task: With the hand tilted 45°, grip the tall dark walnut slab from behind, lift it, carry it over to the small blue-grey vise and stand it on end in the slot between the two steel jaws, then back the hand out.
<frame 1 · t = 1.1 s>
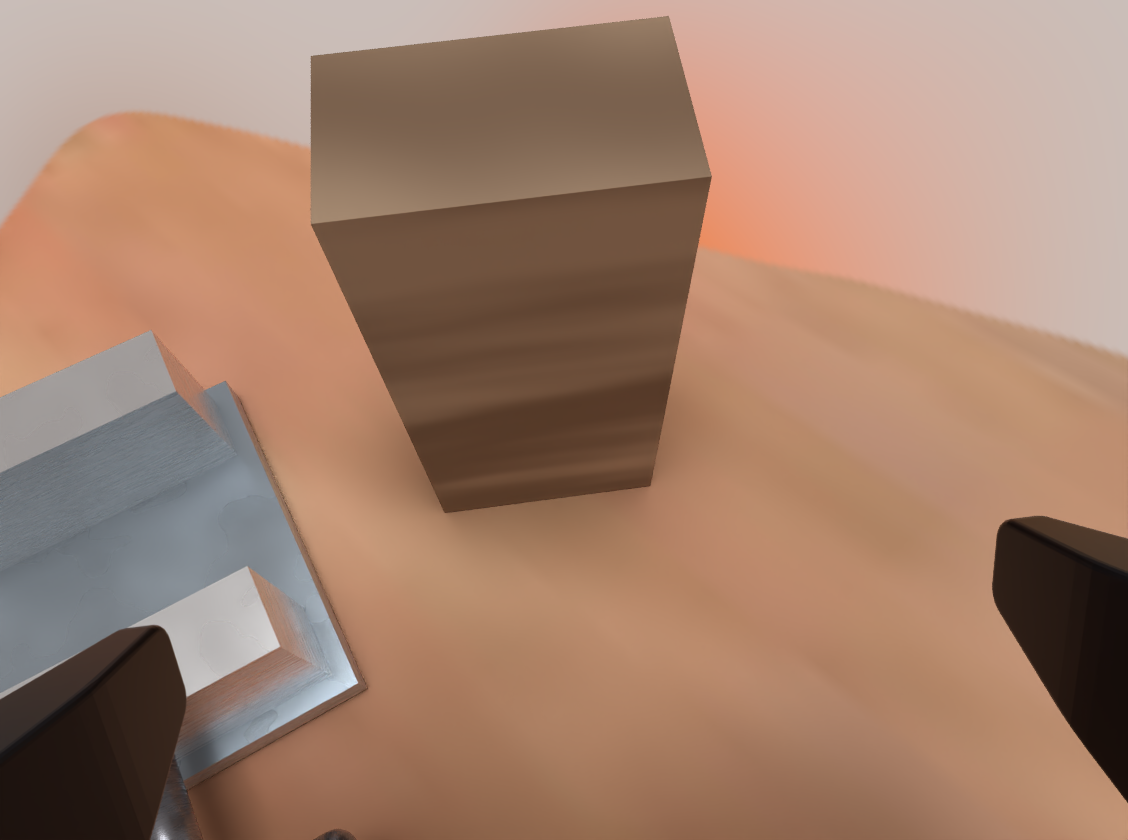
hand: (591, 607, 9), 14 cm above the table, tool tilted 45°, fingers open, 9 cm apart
walnut slab: (540, 444, 25), on the table
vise: (145, 608, 23), on the table
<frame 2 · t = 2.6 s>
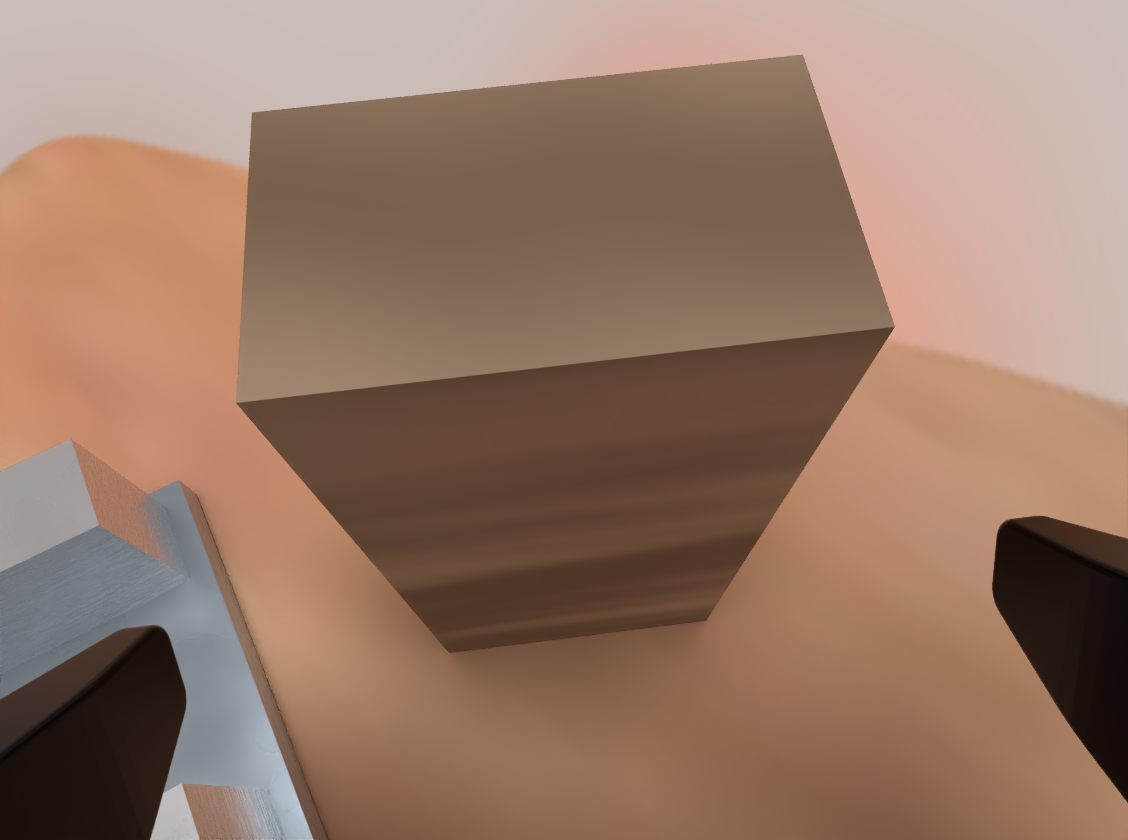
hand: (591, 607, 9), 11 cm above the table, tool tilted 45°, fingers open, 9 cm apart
walnut slab: (569, 563, 20), on the table
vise: (70, 777, 18), on the table
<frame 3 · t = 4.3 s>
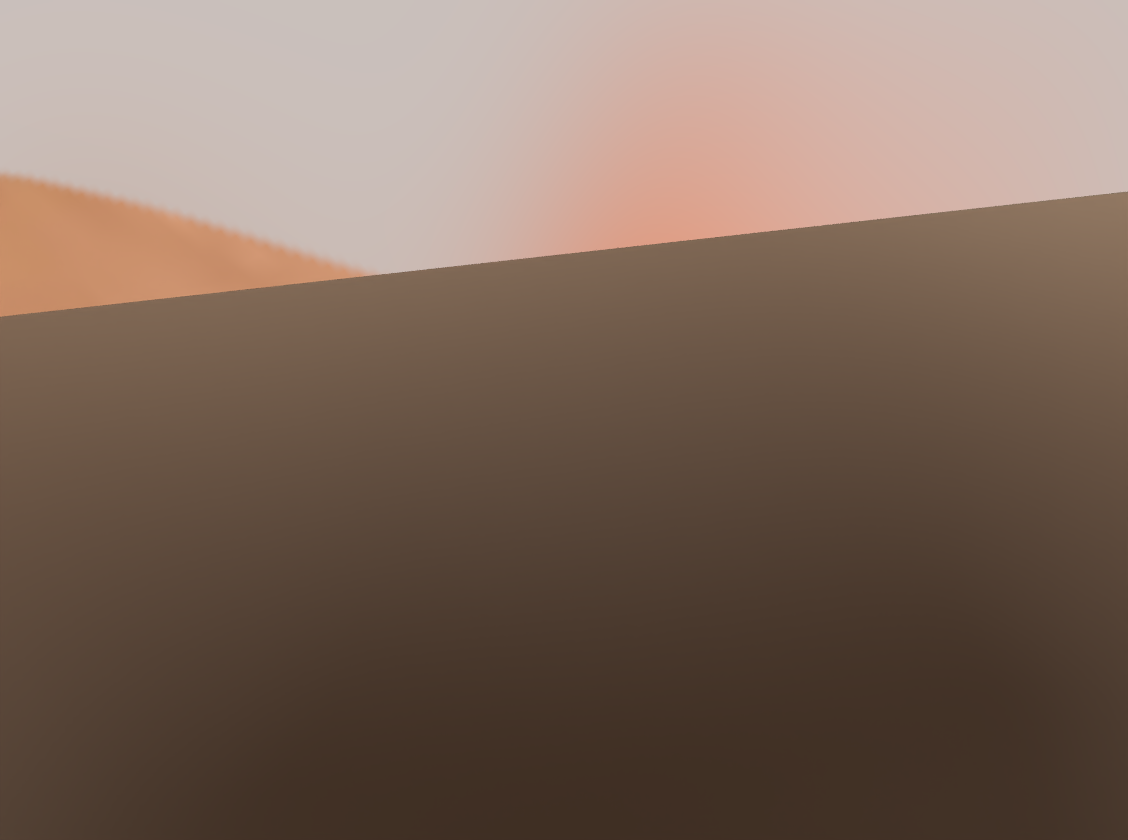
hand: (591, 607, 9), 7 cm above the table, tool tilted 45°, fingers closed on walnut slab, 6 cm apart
walnut slab: (598, 770, 15), on the table, touching gripper
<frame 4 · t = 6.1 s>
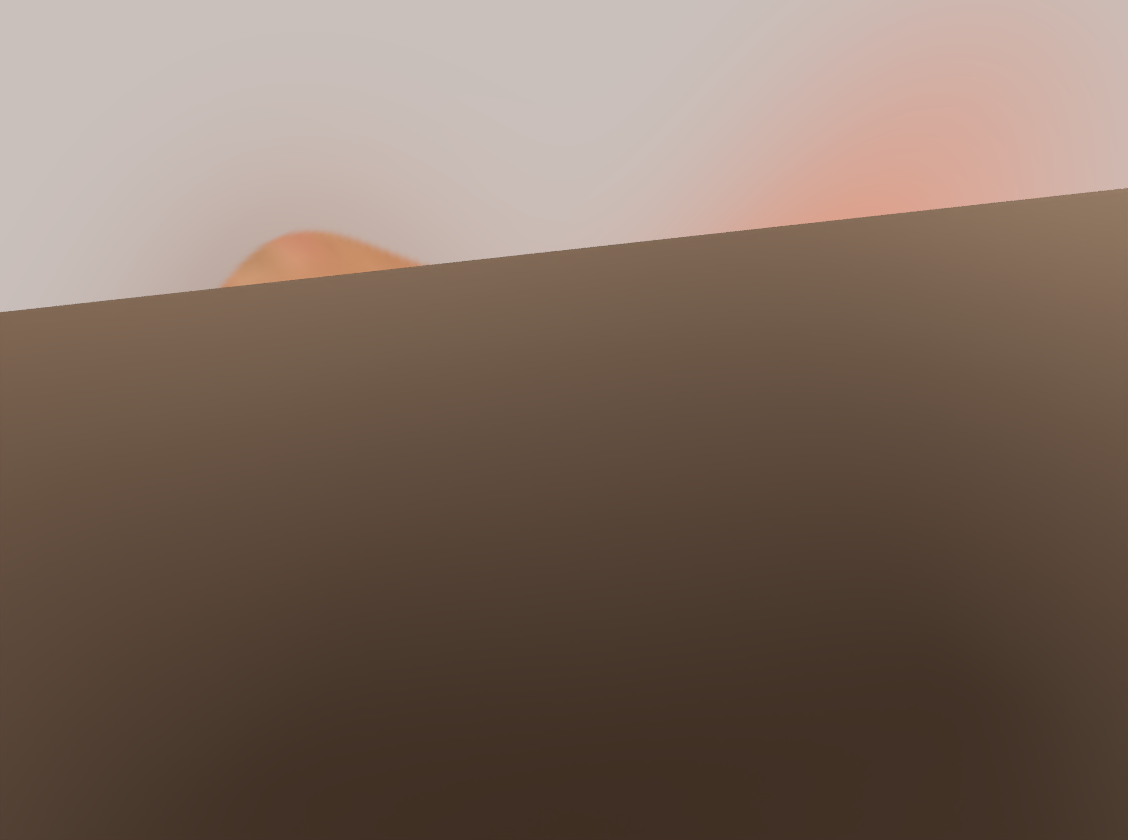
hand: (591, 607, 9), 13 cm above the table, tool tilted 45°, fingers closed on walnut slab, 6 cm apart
walnut slab: (599, 769, 15), point 6 cm above the table, touching gripper
when the fingers open (9 cm above the table, at t = 8.3 s): walnut slab stays where it is, resting on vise.
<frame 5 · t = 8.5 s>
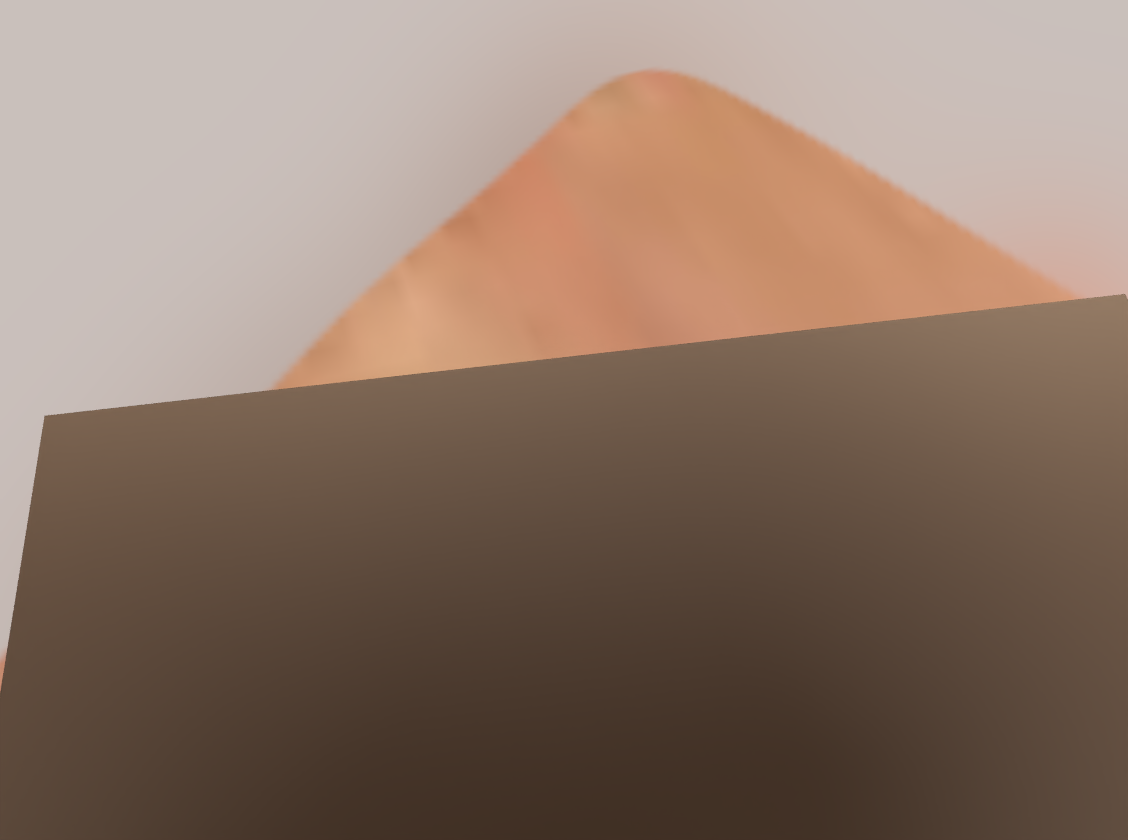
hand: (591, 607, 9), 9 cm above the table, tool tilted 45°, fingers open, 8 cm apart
walnut slab: (598, 771, 16), point 1 cm above the table, touching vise
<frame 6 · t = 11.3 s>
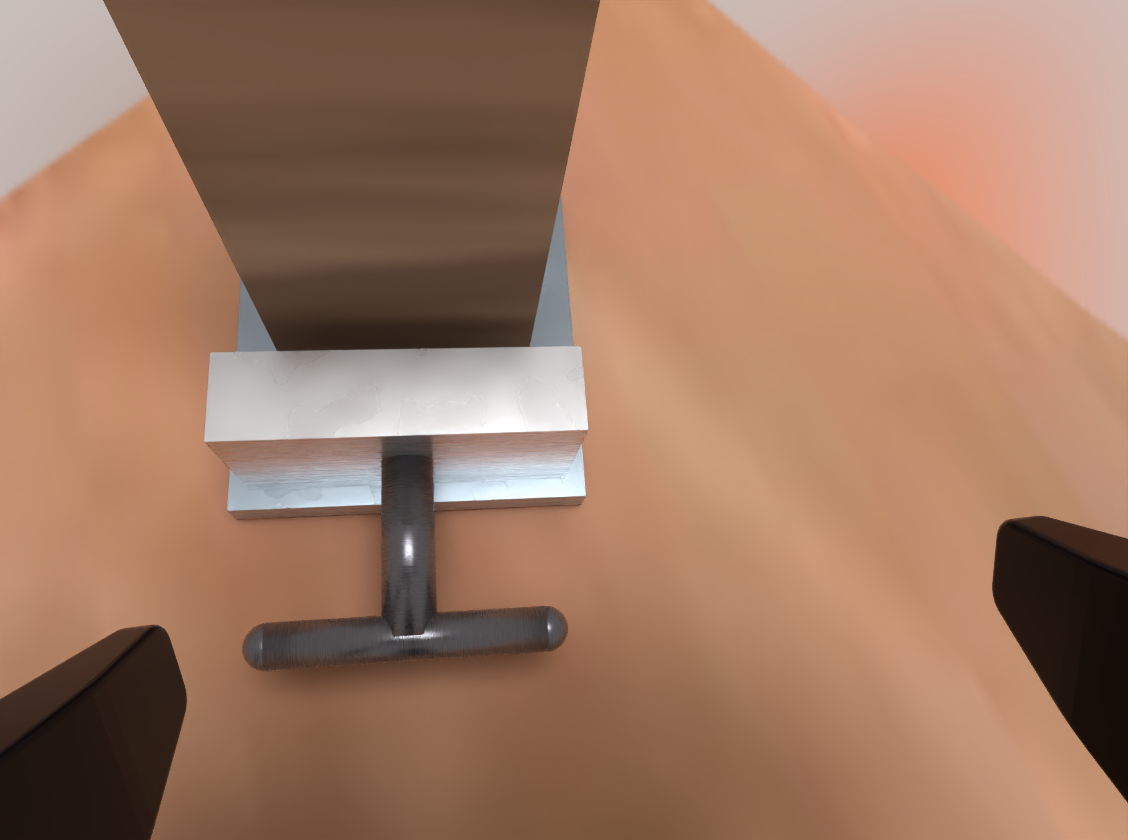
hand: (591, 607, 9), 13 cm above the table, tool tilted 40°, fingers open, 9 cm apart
walnut slab: (410, 325, 23), point 1 cm above the table, touching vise
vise: (411, 340, 24), on the table
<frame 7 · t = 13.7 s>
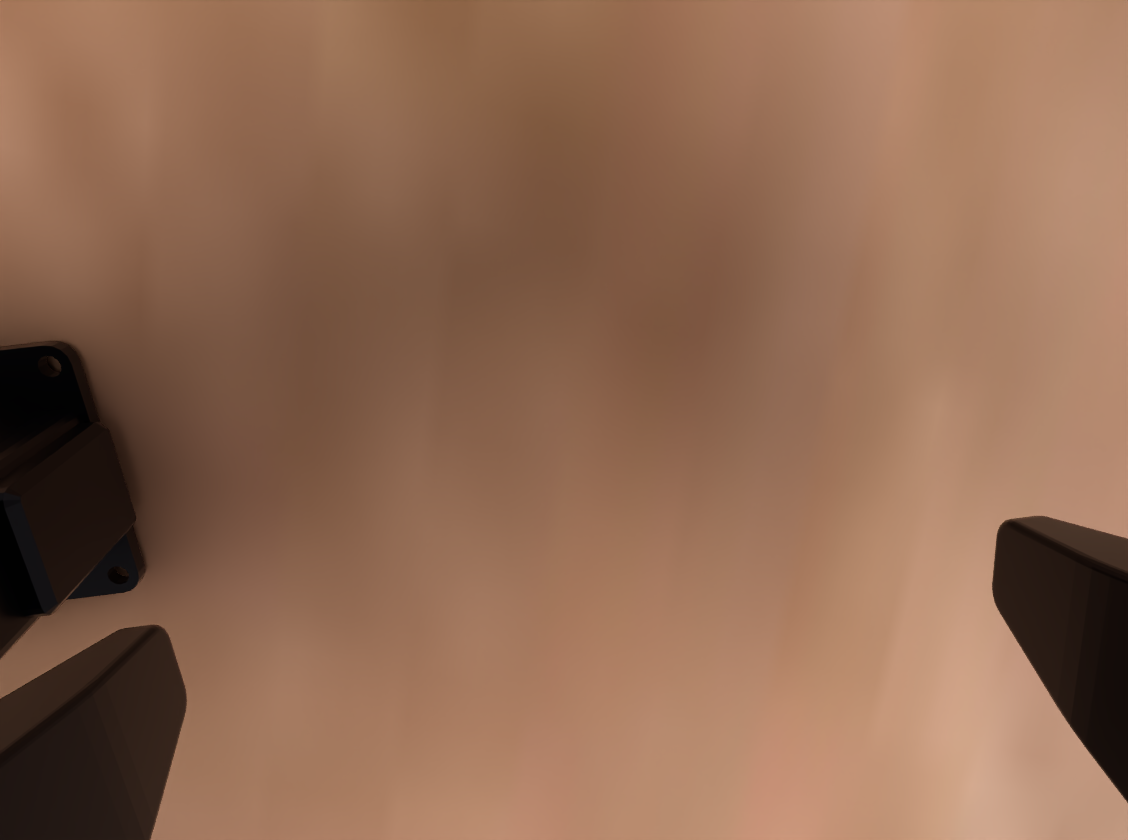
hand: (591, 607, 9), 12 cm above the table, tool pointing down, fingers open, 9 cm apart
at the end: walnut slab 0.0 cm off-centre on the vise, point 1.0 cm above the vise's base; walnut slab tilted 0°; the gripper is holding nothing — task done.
